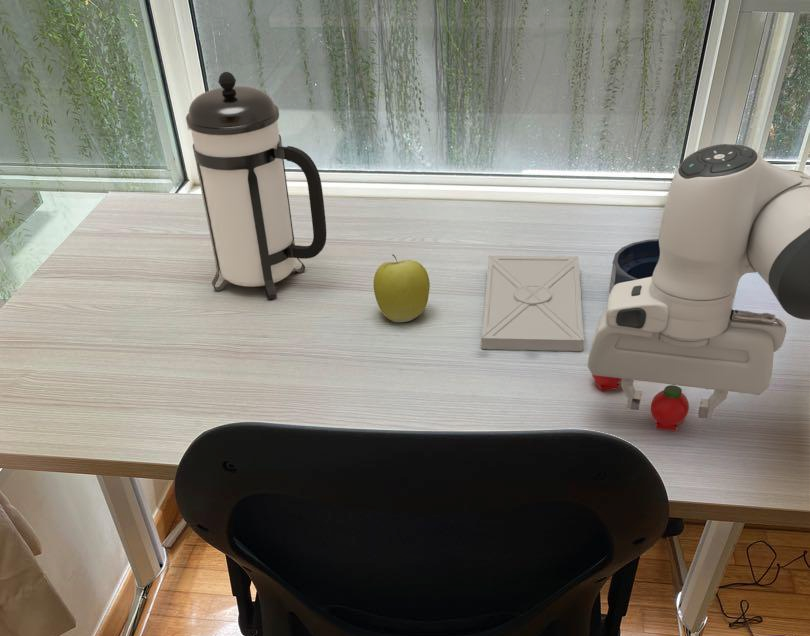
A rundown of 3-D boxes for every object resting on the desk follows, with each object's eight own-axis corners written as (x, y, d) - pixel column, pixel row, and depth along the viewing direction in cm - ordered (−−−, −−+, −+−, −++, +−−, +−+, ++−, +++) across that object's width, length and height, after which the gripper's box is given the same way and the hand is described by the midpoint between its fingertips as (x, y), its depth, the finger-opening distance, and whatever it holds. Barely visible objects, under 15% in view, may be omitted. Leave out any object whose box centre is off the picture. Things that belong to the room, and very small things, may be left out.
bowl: (717, 278, 132) (724, 243, 128) (713, 328, 122) (721, 292, 118) (615, 269, 136) (620, 235, 132) (603, 317, 125) (607, 281, 121)
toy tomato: (686, 416, 107) (693, 382, 103) (683, 437, 104) (691, 402, 100) (649, 411, 108) (655, 377, 104) (646, 432, 105) (652, 397, 101)
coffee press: (222, 313, 130) (178, 97, 110) (205, 268, 142) (163, 65, 121) (334, 292, 134) (312, 79, 113) (309, 250, 145) (285, 49, 125)
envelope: (481, 350, 120) (582, 352, 119) (481, 336, 119) (583, 338, 117) (488, 267, 137) (577, 268, 136) (488, 254, 136) (578, 255, 134)
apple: (431, 324, 123) (408, 258, 118) (380, 334, 127) (355, 271, 121) (443, 298, 129) (422, 234, 123) (394, 308, 132) (371, 246, 126)
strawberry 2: (615, 373, 114) (620, 340, 111) (629, 391, 111) (635, 357, 108) (584, 378, 114) (587, 345, 110) (597, 396, 111) (601, 363, 107)
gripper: (790, 301, 95) (759, 407, 104) (600, 283, 100) (587, 386, 109) (791, 330, 90) (759, 438, 100) (592, 310, 95) (580, 415, 105)
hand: (668, 411), depth 105 cm, fingers open, 7 cm apart
